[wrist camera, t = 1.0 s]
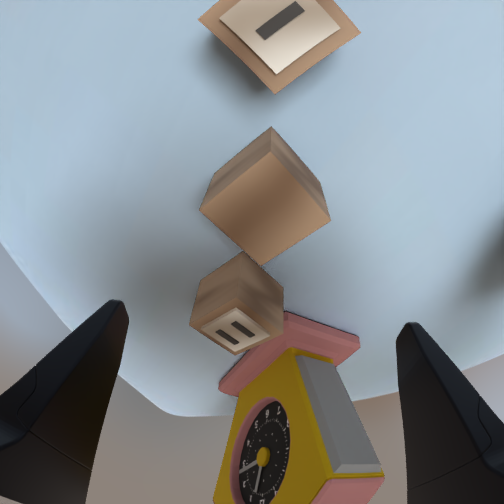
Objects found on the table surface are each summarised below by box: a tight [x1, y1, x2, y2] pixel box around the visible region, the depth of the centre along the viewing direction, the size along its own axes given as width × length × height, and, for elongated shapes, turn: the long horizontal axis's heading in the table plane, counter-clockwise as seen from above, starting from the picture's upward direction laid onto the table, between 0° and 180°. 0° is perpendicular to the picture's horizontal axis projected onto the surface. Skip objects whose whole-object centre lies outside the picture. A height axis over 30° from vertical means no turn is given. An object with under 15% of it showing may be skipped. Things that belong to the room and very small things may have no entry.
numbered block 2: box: [189, 251, 283, 355], centre depth 24 cm, size 5×5×5 cm
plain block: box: [199, 126, 331, 266], centre depth 18 cm, size 5×5×5 cm
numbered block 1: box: [198, 0, 361, 94], centre depth 12 cm, size 5×5×5 cm
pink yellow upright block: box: [213, 312, 385, 504], centre depth 25 cm, size 22×9×22 cm, turn 154°
